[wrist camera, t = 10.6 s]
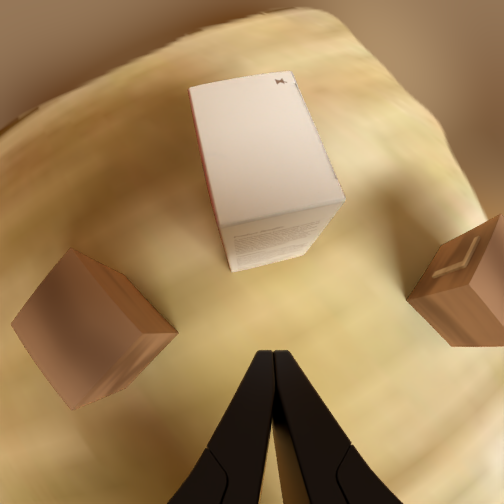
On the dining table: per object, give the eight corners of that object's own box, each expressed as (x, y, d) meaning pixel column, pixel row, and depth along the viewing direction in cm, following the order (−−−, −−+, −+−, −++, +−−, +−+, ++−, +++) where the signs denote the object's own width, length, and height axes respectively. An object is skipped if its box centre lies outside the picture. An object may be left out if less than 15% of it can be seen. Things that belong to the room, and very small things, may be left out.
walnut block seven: (451, 346, 21) (517, 345, 13) (404, 298, 22) (466, 282, 14) (482, 290, 22) (545, 273, 15) (439, 243, 23) (499, 211, 15)
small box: (207, 176, 24) (185, 83, 14) (276, 161, 25) (291, 66, 14) (230, 275, 22) (215, 229, 12) (306, 257, 23) (349, 199, 13)
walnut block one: (125, 388, 20) (71, 410, 13) (74, 327, 21) (8, 321, 14) (178, 332, 21) (142, 333, 14) (122, 273, 22) (68, 245, 15)
